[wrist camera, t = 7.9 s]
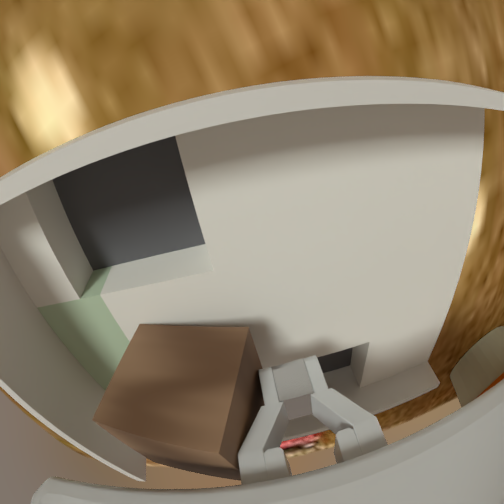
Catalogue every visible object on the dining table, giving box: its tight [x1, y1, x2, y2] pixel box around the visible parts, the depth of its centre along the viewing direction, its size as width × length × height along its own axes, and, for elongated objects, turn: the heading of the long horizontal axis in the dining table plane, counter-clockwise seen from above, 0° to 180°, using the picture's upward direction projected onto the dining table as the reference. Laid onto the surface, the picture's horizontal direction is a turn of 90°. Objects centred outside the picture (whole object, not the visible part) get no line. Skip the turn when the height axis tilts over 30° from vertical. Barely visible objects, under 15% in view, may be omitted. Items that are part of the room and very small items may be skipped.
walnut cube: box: [92, 324, 265, 480], centre depth 10 cm, size 4×4×4 cm
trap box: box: [0, 76, 504, 481], centre depth 11 cm, size 20×17×6 cm
